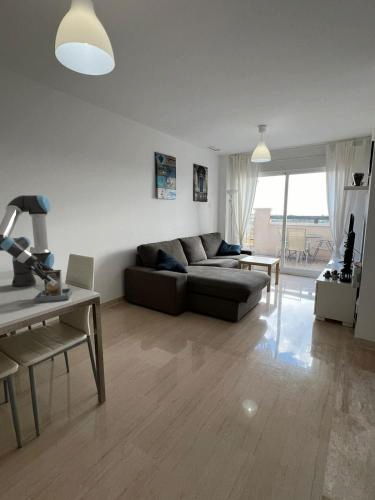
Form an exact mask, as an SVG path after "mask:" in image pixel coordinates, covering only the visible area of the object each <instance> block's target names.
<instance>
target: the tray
mask: <svg viewBox="0 0 375 500" xmlns="http://www.w3.org/2000/svg"><path fill="white" fill-rule="evenodd" d="M62 292H63V294H62V295H60V296H48V297H45V289H43V290H40V291H39V293H38V294H37V295H36V296H35V297H34V298H33V299H34V304H41V303H49V302H50V303H51V302H60V301H61V302H62V301H64V302H65V301H69V300H70V299H71V297H72V294H73V288H72V287H68V288H67V287H66V288H62Z"/></svg>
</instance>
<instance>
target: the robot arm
mask: <svg viewBox="0 0 375 500" xmlns="http://www.w3.org/2000/svg"><path fill="white" fill-rule="evenodd" d="M50 205H51V204H50V201H49V199H48V197H46V196H45V195H41V194H40V195H38V194H37V195H36V194H35V195H31V194H30V195H26V194H25V195H24V194H23V195H19V196H16V197H14V198H13V199H11V201H9V202H8V204H7V205H6V207H5V213H4V215H3V218H2V220H1V222H0V252H2V251H4V252H6V253H8V254H9V255H10V256H12V268H13V278H12V282H11V286H12V287H13V288H18V287H19V288H21V287H22V288H23V287H30V286H33V285H35V284H37V280H36V277H35V275H34V274H36V275H37V276H38V278H40V279H41V280H42V281H44V279H45V280H46V281H47V282H49V283H50V284H51V285H53V286H54V285H55V284H56V283H57V282H56V281H55V280H53V279H52V278H51V277H49V276H47V275H46V274H45V273H44V272H45V271H47V270H55V269H54V268H53V267H54V263H55V255H54V253H51V250H50V249H49V245H48V234H47V222H46V217H47V215H48V213H49V212H50V210H51V206H50ZM23 213H28V215H29V217H31V224H32V234H33V235H32V236H33V245H34V249H33V251H32V252H31V251H29V250H28V248H29V247H30V245H31V241H30V239H29V237H26V236H21V237H11V235H12V233H13V230H14V228H15V225H16V224H17V222H18V219H19V217H20V216H22V214H23ZM33 272H34V273H33Z"/></svg>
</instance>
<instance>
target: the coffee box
mask: <svg viewBox="0 0 375 500" xmlns="http://www.w3.org/2000/svg"><path fill="white" fill-rule="evenodd" d="M44 273H45V274H46V275H47V276H49V277H51V278H52V279H53V280H55V281H56V282H57V283H56V284H55V285H54V286H53V285H51V284H50V283H49V282H47V281H46V280H45V279H44V280H43V281H44V290H45V297H48V296H60V295H62V294H63V292H62V289H63V281H62V279H63V278H62V269H54V270H47V271H44Z"/></svg>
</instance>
